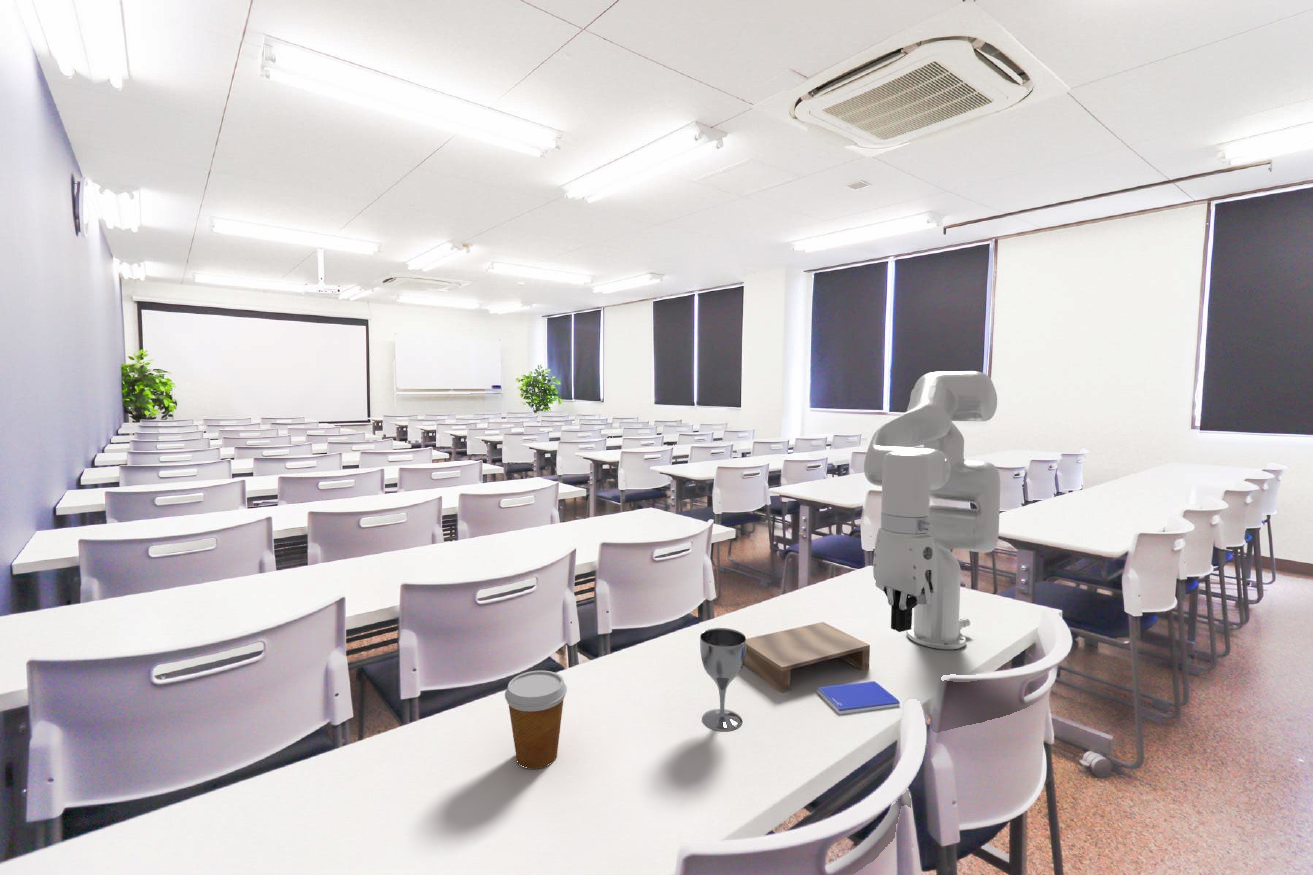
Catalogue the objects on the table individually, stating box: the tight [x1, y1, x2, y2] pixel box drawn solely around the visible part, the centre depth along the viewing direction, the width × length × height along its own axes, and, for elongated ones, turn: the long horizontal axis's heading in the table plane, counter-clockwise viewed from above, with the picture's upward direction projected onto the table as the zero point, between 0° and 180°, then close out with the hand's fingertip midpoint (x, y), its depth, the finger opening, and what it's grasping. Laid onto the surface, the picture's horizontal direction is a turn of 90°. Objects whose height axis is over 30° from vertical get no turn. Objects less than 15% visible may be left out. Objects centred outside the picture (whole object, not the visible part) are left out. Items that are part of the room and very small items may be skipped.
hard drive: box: [816, 680, 901, 715], centre depth 110 cm, size 2×8×12 cm
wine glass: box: [699, 627, 747, 732], centre depth 102 cm, size 8×8×15 cm
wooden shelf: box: [743, 621, 871, 693], centre depth 123 cm, size 23×14×5 cm, turn 116°
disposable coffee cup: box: [504, 670, 568, 770], centre depth 92 cm, size 10×10×12 cm
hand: (901, 628), depth 100 cm, fingers closed
